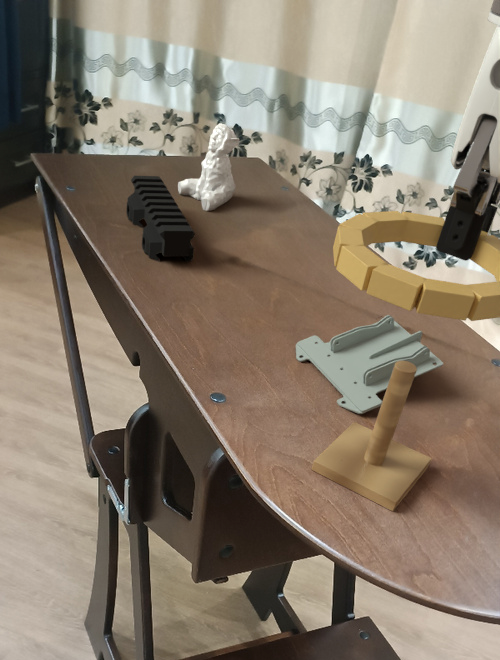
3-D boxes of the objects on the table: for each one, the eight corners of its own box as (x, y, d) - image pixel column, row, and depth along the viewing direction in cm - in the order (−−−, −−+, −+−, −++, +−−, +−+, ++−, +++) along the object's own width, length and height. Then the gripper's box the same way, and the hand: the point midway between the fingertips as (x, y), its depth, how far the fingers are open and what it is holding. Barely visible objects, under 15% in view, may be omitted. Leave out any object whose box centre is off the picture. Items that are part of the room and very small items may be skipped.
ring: (546, 278, 62) (556, 256, 61) (486, 342, 52) (497, 317, 50) (382, 219, 68) (388, 198, 66) (298, 266, 57) (303, 242, 56)
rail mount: (122, 207, 115) (123, 175, 112) (162, 208, 117) (164, 176, 114) (150, 265, 100) (152, 230, 97) (195, 265, 102) (198, 231, 99)
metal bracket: (387, 294, 89) (463, 357, 79) (386, 333, 93) (457, 397, 84) (286, 335, 86) (351, 404, 77) (289, 372, 91) (351, 443, 81)
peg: (428, 467, 73) (469, 367, 65) (392, 511, 67) (433, 407, 59) (351, 430, 77) (382, 330, 69) (311, 469, 71) (339, 365, 63)
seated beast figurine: (174, 192, 123) (180, 116, 115) (214, 186, 127) (222, 113, 119) (205, 212, 118) (214, 134, 110) (246, 206, 122) (257, 130, 114)
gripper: (569, 24, 45) (466, 292, 58) (620, 12, 56) (524, 241, 68) (459, -1, 48) (383, 260, 60) (527, -8, 59) (451, 216, 71)
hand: (458, 249), depth 64 cm, fingers closed on ring, 2 cm apart
